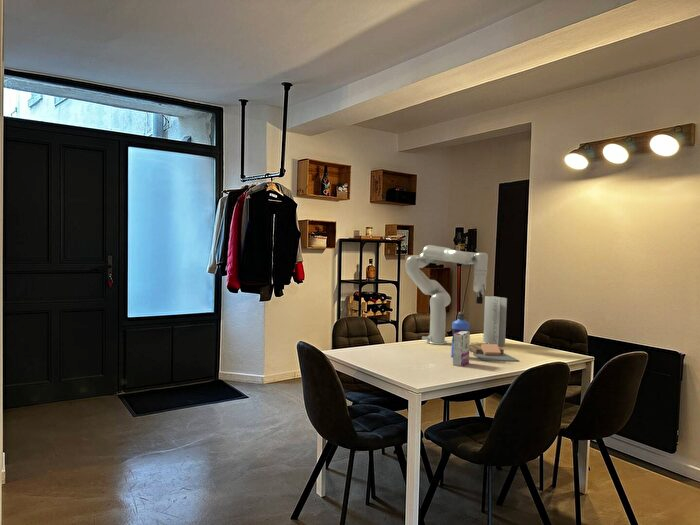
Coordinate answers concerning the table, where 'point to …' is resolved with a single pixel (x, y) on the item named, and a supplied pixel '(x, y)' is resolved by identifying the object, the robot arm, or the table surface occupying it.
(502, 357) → the mat
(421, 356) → the table surface
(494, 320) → the tall grey box
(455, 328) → the water bottle
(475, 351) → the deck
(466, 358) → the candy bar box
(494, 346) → the tile
